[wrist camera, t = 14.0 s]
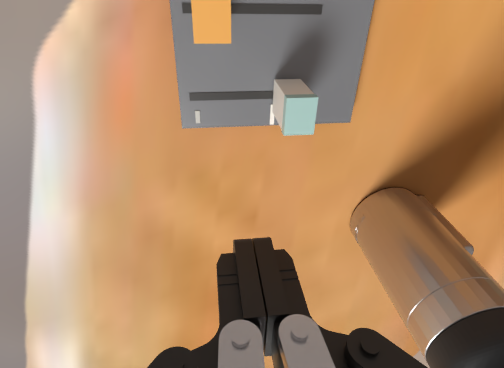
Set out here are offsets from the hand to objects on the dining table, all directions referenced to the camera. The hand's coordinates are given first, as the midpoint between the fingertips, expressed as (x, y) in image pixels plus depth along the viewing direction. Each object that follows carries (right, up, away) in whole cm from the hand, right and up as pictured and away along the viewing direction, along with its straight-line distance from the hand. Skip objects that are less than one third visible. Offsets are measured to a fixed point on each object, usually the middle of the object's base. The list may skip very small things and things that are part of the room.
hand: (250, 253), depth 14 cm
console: (+2, +15, +16) cm, 22 cm away
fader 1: (-3, +16, +12) cm, 21 cm away
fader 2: (+3, +11, +17) cm, 20 cm away
